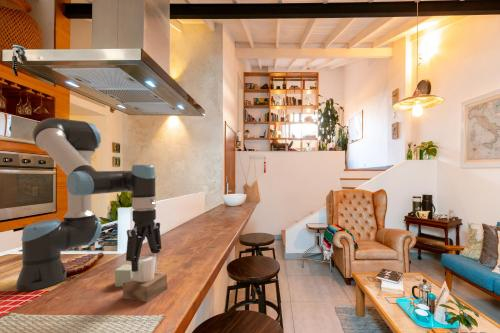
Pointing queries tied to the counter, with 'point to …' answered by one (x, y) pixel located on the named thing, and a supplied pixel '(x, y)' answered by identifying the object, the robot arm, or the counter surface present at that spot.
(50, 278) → the robot arm
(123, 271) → the sage block
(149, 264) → the shot glass
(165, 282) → the walnut block
